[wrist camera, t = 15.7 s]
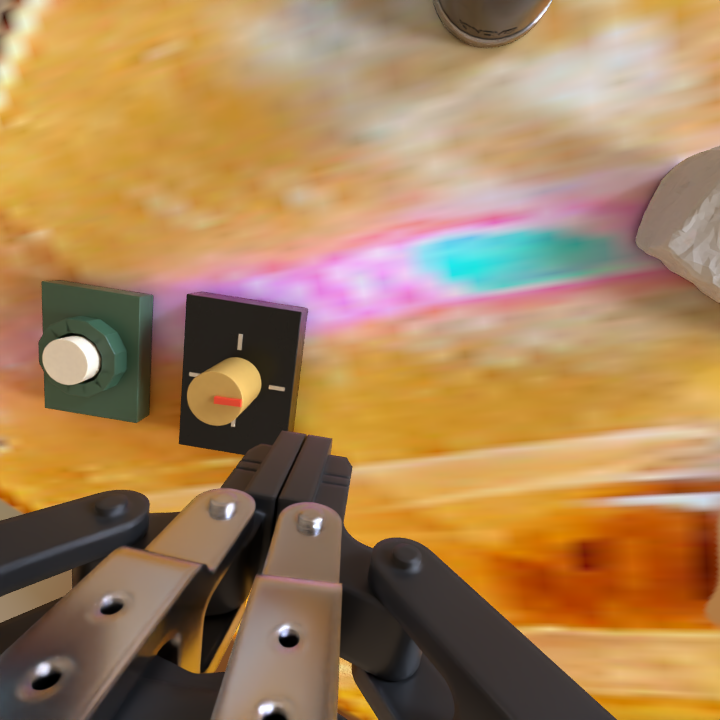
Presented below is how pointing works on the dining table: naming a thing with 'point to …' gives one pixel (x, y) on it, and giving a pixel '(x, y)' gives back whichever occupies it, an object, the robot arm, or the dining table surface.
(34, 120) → the dining table surface
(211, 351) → the panel
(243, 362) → the knob
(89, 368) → the button
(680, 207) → the stone
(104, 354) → the button block
